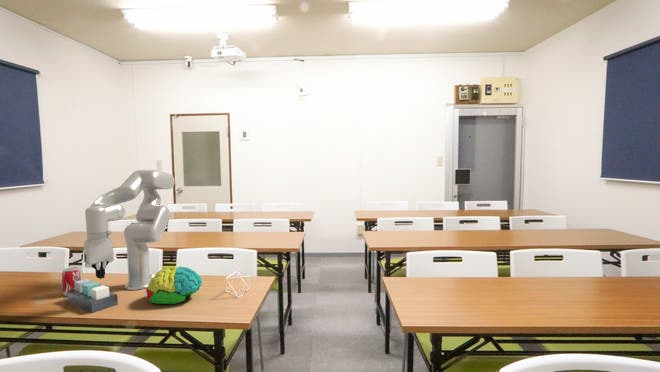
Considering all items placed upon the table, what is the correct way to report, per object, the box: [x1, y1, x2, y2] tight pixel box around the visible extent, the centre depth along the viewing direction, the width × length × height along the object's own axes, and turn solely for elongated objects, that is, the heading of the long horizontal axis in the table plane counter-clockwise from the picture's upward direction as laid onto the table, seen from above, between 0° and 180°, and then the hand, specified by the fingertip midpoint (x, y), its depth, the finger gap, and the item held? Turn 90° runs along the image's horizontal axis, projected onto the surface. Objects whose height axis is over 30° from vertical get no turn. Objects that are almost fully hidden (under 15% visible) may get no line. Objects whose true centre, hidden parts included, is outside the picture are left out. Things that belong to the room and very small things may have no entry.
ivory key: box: [91, 285, 110, 300], centre depth 147 cm, size 5×5×5 cm
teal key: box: [82, 281, 102, 297], centre depth 151 cm, size 5×5×5 cm
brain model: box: [145, 265, 203, 305], centre depth 155 cm, size 24×19×15 cm
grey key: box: [75, 278, 93, 293], centre depth 155 cm, size 5×5×5 cm
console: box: [66, 289, 119, 314], centre depth 151 cm, size 10×23×5 cm, turn 58°
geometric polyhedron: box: [225, 270, 251, 299], centre depth 162 cm, size 12×11×9 cm
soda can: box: [61, 267, 82, 297], centre depth 162 cm, size 7×7×12 cm
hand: (100, 277), depth 148 cm, fingers closed
